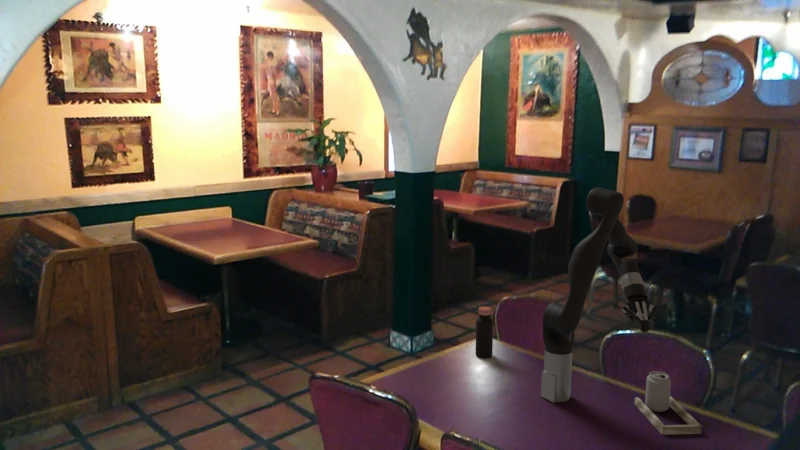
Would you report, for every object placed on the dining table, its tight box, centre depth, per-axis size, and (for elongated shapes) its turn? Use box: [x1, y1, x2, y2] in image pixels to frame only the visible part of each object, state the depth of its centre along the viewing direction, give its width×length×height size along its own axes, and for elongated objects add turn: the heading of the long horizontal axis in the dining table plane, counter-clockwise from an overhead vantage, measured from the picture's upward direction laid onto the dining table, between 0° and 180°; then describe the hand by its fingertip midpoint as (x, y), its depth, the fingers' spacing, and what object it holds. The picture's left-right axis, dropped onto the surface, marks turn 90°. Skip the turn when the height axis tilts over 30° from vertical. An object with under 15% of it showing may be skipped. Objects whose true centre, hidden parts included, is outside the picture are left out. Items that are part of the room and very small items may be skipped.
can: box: [644, 370, 672, 413], centre depth 211 cm, size 8×8×12 cm
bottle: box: [475, 306, 494, 359], centre depth 255 cm, size 7×7×20 cm
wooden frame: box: [634, 395, 703, 436], centre depth 205 cm, size 20×12×2 cm, turn 3°
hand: (645, 331), depth 219 cm, fingers closed
